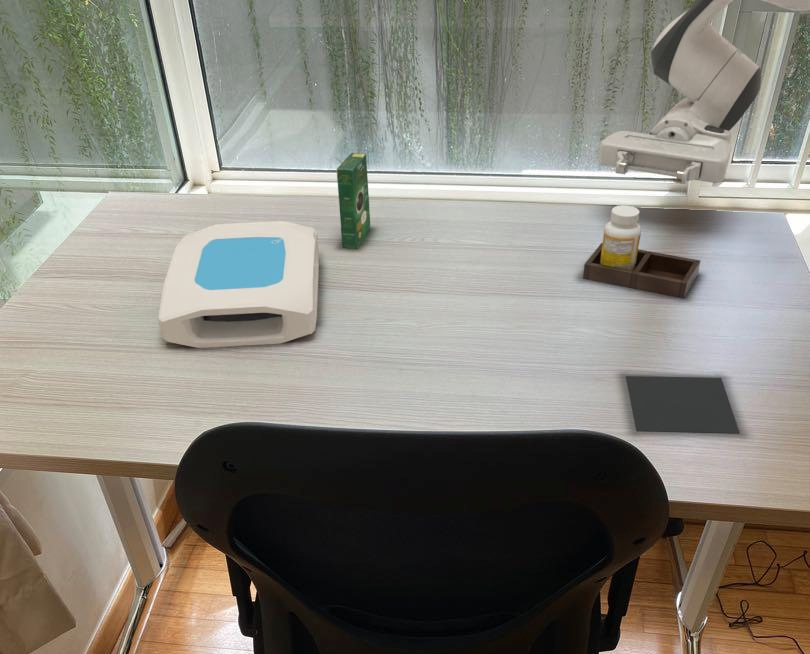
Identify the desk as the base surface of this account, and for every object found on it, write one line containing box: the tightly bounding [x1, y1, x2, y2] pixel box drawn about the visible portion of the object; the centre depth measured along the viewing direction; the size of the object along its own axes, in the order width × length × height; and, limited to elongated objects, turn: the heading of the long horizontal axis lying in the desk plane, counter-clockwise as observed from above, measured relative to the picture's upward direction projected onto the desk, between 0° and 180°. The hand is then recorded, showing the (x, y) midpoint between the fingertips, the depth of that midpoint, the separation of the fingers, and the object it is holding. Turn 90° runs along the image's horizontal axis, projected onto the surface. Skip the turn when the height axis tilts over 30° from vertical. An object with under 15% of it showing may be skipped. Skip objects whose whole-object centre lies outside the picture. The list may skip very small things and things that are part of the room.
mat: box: [625, 375, 741, 435], centre depth 108 cm, size 12×12×1 cm
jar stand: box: [582, 242, 701, 299], centre depth 132 cm, size 15×8×3 cm, turn 63°
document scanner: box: [157, 220, 320, 349], centre depth 130 cm, size 21×28×6 cm
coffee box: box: [336, 152, 371, 250], centre depth 142 cm, size 8×3×13 cm, turn 165°
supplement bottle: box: [600, 204, 642, 271], centre depth 131 cm, size 5×5×10 cm
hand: (650, 173), depth 134 cm, fingers open, 8 cm apart
